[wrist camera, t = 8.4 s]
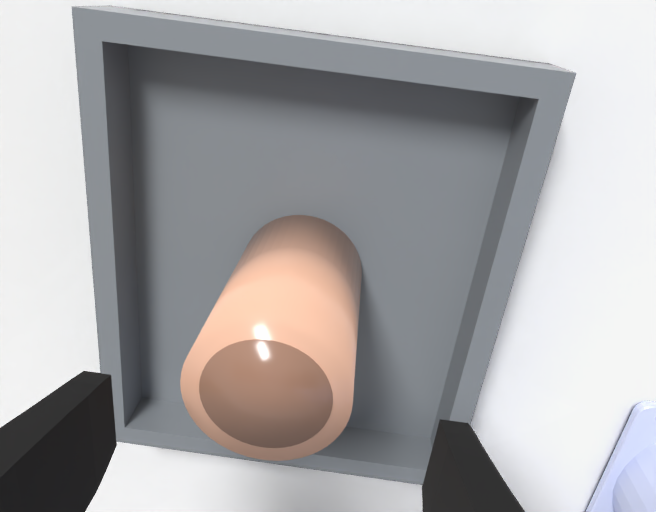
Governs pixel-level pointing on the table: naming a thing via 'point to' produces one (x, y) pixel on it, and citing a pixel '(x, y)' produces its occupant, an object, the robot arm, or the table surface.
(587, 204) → the table surface
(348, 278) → the peach cylinder
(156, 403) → the tray
